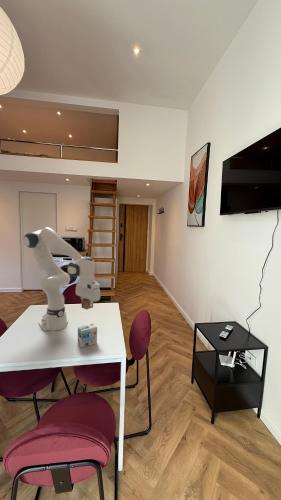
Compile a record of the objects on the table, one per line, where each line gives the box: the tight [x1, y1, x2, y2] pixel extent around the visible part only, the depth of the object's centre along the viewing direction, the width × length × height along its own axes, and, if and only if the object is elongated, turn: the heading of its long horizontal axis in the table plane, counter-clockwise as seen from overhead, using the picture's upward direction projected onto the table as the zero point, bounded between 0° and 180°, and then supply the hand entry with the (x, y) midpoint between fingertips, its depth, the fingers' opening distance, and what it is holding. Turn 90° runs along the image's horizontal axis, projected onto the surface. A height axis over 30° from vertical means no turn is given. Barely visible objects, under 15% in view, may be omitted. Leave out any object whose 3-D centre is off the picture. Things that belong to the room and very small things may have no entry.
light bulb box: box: [77, 323, 98, 348], centre depth 138 cm, size 11×7×11 cm, turn 126°
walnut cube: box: [81, 298, 94, 310], centre depth 136 cm, size 5×5×5 cm
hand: (87, 305), depth 136 cm, fingers closed on walnut cube, 5 cm apart
